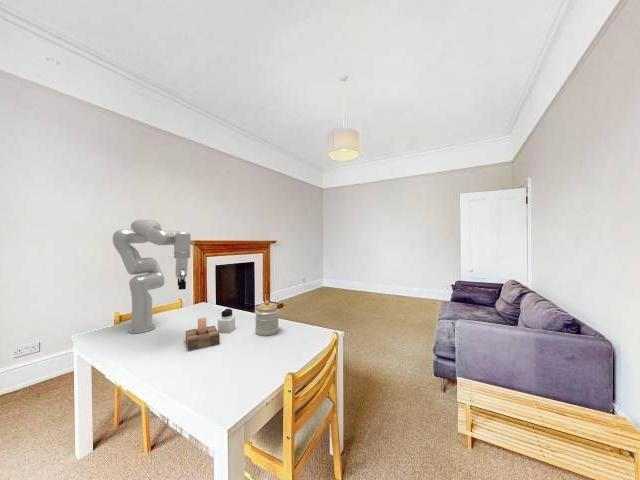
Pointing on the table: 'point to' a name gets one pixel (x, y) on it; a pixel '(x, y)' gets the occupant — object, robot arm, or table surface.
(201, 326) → the peg
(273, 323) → the jar
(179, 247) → the robot arm
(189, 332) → the socket block
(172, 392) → the table surface
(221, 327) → the medicine bottle
